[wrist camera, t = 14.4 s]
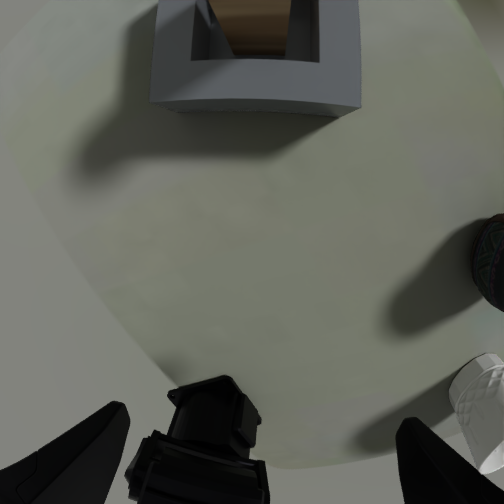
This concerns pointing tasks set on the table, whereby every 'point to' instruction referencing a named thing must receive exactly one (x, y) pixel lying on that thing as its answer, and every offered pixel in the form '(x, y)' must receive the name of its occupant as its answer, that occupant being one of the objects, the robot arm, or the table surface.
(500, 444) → the white cup
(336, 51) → the grey square socket holder
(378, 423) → the table surface
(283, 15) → the tall wooden pillar block
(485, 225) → the mate gourd
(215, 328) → the table surface
